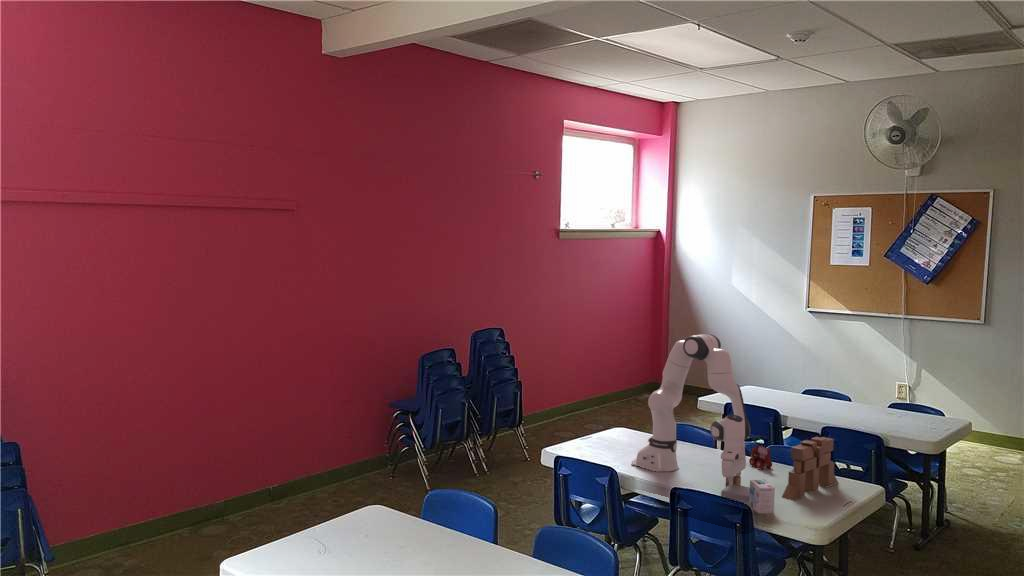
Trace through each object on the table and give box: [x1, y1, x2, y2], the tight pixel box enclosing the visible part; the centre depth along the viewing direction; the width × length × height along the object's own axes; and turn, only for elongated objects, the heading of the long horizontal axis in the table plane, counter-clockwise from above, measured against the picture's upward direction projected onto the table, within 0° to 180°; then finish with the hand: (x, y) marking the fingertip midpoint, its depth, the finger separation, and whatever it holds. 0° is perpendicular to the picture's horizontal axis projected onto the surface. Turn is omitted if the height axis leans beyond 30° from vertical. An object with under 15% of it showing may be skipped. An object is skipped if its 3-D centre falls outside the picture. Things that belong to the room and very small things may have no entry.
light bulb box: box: [748, 479, 776, 514], centre depth 324 cm, size 11×7×11 cm, turn 5°
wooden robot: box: [781, 436, 839, 501], centre depth 350 cm, size 40×9×23 cm, turn 132°
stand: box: [720, 484, 750, 503], centre depth 341 cm, size 12×12×2 cm
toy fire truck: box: [748, 444, 773, 470], centre depth 385 cm, size 7×12×10 cm, turn 22°
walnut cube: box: [725, 475, 742, 488], centre depth 351 cm, size 5×5×5 cm
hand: (734, 483), depth 351 cm, fingers open, 5 cm apart
